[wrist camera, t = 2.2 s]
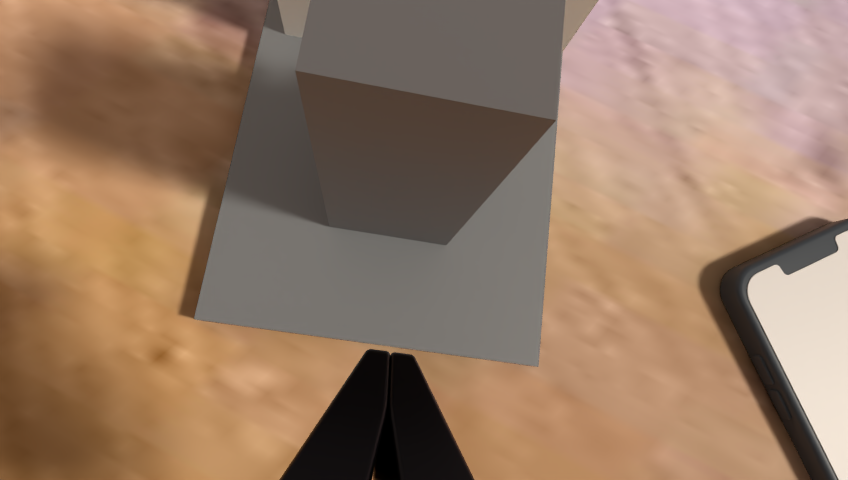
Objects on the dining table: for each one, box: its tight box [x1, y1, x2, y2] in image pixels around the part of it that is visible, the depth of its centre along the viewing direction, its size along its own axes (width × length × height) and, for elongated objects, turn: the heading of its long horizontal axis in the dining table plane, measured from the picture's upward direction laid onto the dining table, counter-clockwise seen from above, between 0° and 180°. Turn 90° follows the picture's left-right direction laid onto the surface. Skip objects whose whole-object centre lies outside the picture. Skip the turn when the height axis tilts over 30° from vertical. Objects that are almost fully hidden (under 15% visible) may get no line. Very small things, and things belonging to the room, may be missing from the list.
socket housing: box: [194, 0, 598, 367], centre depth 19 cm, size 19×14×9 cm
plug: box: [295, 0, 566, 245], centre depth 16 cm, size 6×5×12 cm
